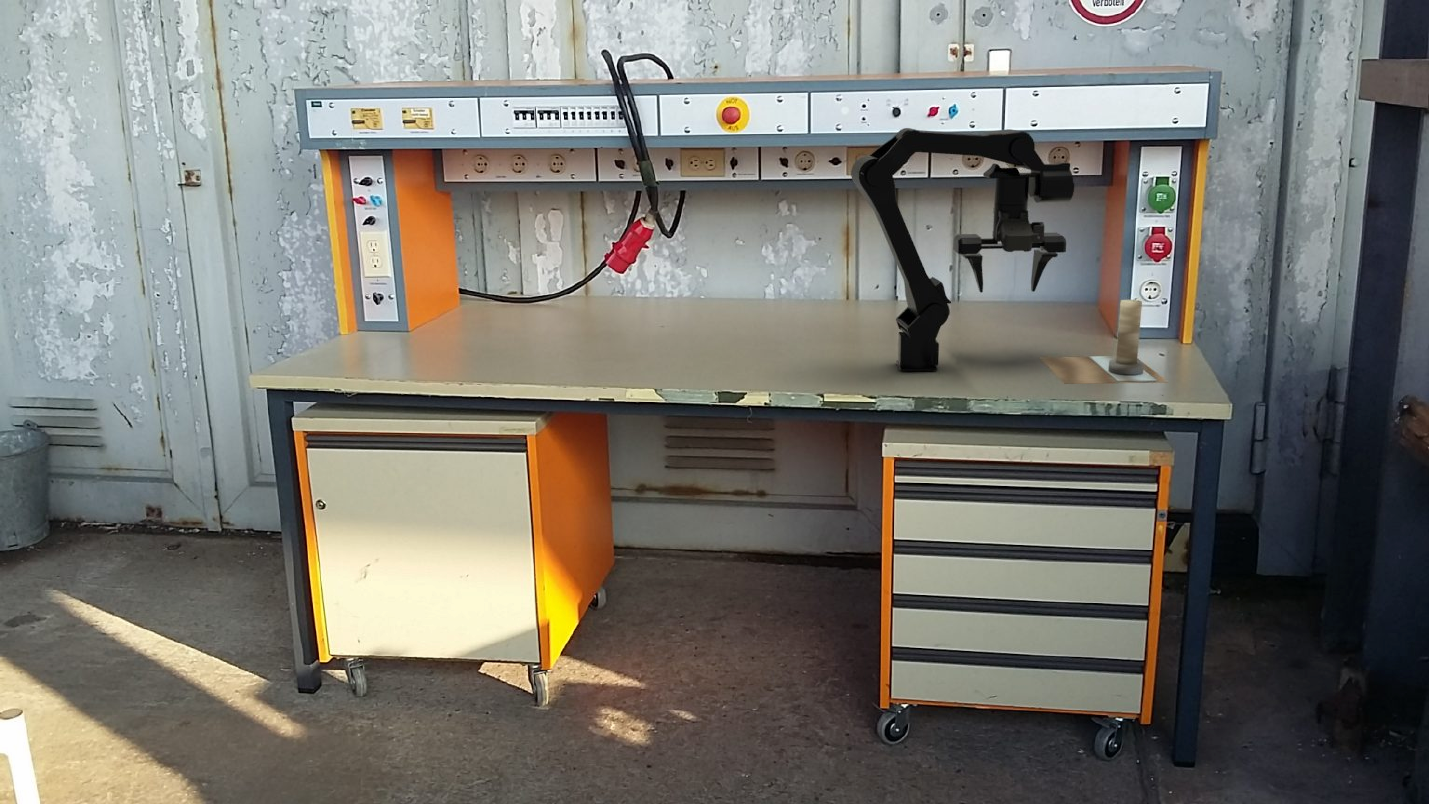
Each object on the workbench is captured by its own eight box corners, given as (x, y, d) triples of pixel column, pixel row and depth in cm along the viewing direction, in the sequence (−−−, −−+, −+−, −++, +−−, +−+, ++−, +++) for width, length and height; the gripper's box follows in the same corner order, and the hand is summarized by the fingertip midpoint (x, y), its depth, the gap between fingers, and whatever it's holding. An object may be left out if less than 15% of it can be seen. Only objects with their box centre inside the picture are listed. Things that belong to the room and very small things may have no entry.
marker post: (1111, 374, 206) (1116, 304, 203) (1106, 366, 211) (1111, 298, 208) (1145, 375, 205) (1151, 304, 202) (1139, 367, 210) (1145, 298, 207)
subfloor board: (1064, 390, 202) (1065, 382, 202) (1038, 364, 220) (1039, 356, 219) (1168, 389, 202) (1168, 380, 202) (1134, 362, 219) (1134, 355, 219)
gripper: (965, 210, 206) (962, 301, 210) (1077, 208, 205) (1071, 299, 210) (954, 202, 217) (951, 289, 221) (1060, 200, 216) (1055, 287, 220)
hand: (1006, 291), depth 218 cm, fingers open, 9 cm apart
